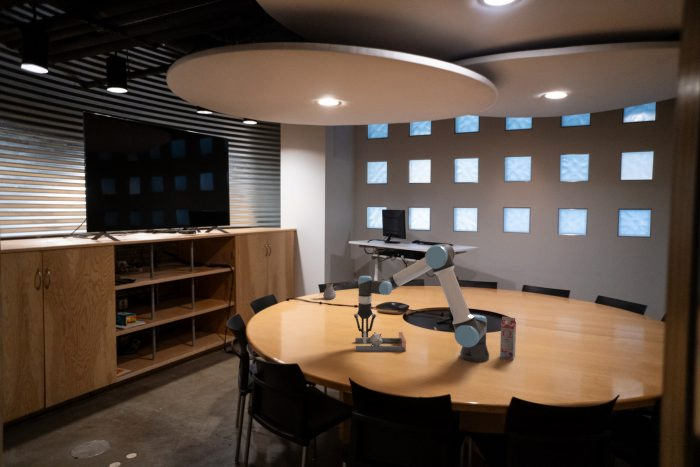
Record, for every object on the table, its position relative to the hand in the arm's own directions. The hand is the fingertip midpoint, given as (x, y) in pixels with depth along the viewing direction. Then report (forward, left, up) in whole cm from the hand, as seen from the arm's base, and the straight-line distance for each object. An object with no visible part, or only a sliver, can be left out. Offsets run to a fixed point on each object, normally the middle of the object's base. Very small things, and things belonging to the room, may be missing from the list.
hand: (364, 342), depth 255 cm
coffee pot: (+129, +21, -2) cm, 131 cm away
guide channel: (0, -9, -2) cm, 9 cm away
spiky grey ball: (0, -7, -2) cm, 7 cm away
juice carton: (-18, -77, -2) cm, 79 cm away
